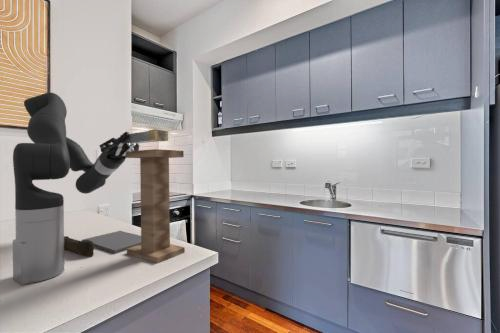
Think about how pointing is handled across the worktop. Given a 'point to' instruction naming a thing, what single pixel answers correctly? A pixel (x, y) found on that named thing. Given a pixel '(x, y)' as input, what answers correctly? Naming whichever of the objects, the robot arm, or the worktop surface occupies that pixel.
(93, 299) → the worktop surface
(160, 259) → the walnut stand
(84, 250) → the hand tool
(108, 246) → the rubber mat
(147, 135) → the grey rectangular bar
